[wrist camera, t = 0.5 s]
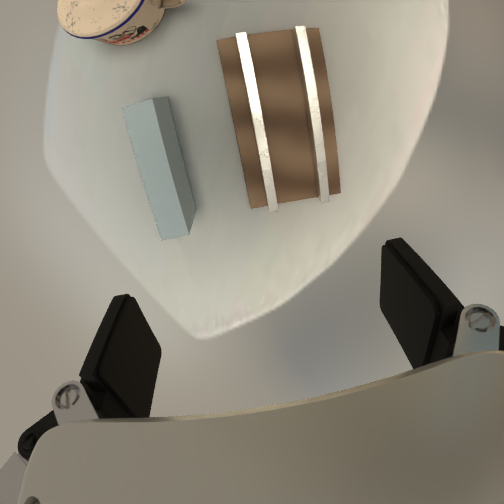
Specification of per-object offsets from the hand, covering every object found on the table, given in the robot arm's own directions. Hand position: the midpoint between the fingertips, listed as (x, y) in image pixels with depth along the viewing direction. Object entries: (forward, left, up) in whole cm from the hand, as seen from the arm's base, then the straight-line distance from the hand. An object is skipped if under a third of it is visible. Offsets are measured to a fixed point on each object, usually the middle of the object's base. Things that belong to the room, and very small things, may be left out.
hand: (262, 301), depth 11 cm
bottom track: (-3, +5, -26) cm, 27 cm away
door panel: (-1, -8, -26) cm, 28 cm away
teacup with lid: (-20, -8, -26) cm, 34 cm away
